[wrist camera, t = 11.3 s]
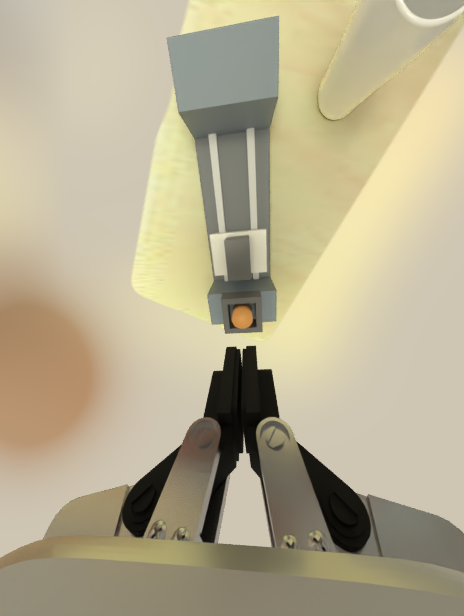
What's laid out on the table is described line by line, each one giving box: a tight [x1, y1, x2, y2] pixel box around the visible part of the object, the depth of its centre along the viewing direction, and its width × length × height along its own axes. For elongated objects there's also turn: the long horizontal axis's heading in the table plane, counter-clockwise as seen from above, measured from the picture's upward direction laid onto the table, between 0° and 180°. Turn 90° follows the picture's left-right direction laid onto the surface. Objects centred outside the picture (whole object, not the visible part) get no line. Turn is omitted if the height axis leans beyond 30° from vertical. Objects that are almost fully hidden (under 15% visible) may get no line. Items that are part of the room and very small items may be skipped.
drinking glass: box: [318, 0, 464, 120], centre depth 17 cm, size 7×7×15 cm
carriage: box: [210, 229, 267, 281], centre depth 27 cm, size 6×8×8 cm
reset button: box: [232, 303, 253, 329], centre depth 26 cm, size 3×3×3 cm
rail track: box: [167, 16, 279, 334], centre depth 26 cm, size 30×10×12 cm, turn 5°
